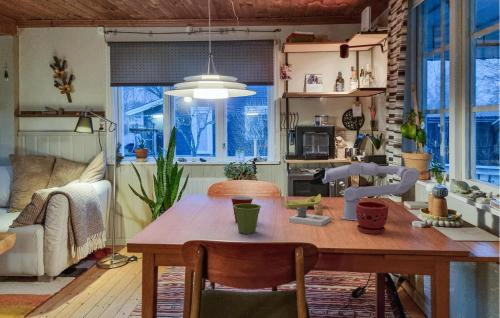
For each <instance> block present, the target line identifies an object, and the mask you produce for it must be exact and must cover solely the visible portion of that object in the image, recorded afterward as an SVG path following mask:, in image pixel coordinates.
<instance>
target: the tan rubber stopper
mask: <svg viewBox="0 0 500 318" xmlns="http://www.w3.org/2000/svg"><path fill="white" fill-rule="evenodd" d="M324 206H325V205H324V204H322V203H321V204H320V203H319V204H315V205H314V213H313V215H319V216H324V215H323V214H324V212H323V211H324Z"/></svg>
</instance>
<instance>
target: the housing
mask: <svg viewBox="0 0 500 318" xmlns="http://www.w3.org/2000/svg"><path fill="white" fill-rule="evenodd" d="M331 219H332V218H331V216H324V215H323V216H319V215H314V214H309V213H308V214H307V213H306V218H300V217H298V213H297V214H295V215H292V216H290V217H288V222H289V223H294V224H301V225H309V226H316V227H323V226H324V225H326V224H328V223H330V222H331Z"/></svg>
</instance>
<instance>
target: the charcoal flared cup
mask: <svg viewBox="0 0 500 318" xmlns="http://www.w3.org/2000/svg"><path fill="white" fill-rule="evenodd" d="M296 211H297V214H298V217H300V218H306V214H307V212H308V208H305V207H298V208H297V209H296Z"/></svg>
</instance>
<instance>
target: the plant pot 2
mask: <svg viewBox="0 0 500 318" xmlns="http://www.w3.org/2000/svg"><path fill="white" fill-rule="evenodd" d="M363 214H365V215H363ZM356 216H357V221H356V222H357V223H358V224H357V225H356V228H357V230H358V231H359V232H360V233H364V234H369V235H378V234H383V233H384V232H385V231H386V227H385V225H386V223H387V221H388V217H389V205H388V204H386V203H383V202H380V201H379V202H377V201H371V200H370V201H366V200H365V201H361V202H359V203H357V204H356Z"/></svg>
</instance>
